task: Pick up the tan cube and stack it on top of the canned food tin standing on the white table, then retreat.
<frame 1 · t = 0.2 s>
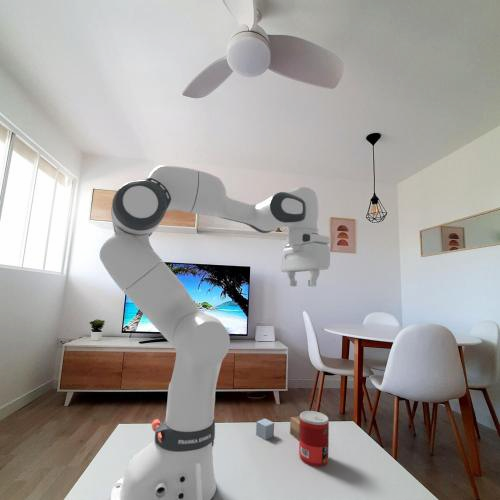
hand: (302, 286, 84), 47 cm above the table, tool pointing down, fingers open, 8 cm apart
tan cube: (300, 436, 91), on the table
slate block: (264, 435, 90), on the table
canned food: (313, 459, 78), on the table
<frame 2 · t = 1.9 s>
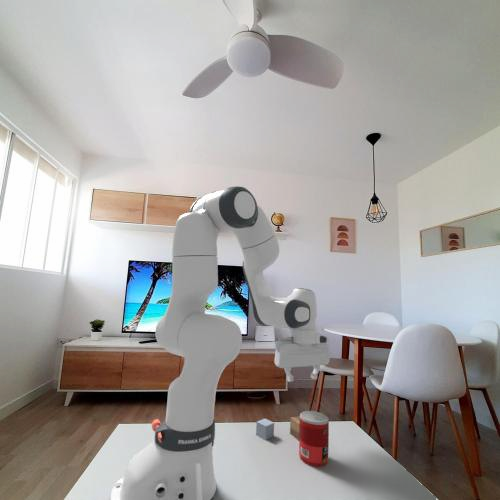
hand: (302, 380, 94), 17 cm above the table, tool pointing down, fingers open, 8 cm apart
nothing on the table moved.
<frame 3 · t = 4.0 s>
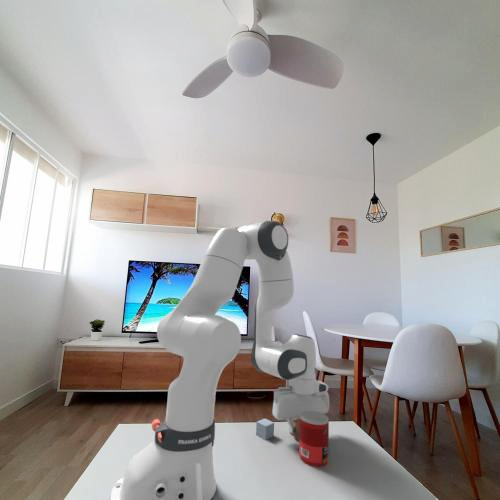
hand: (300, 430, 91), 2 cm above the table, tool pointing down, fingers closed on tan cube, 5 cm apart
tan cube: (300, 435, 91), on the table, touching gripper
everything else where it was.
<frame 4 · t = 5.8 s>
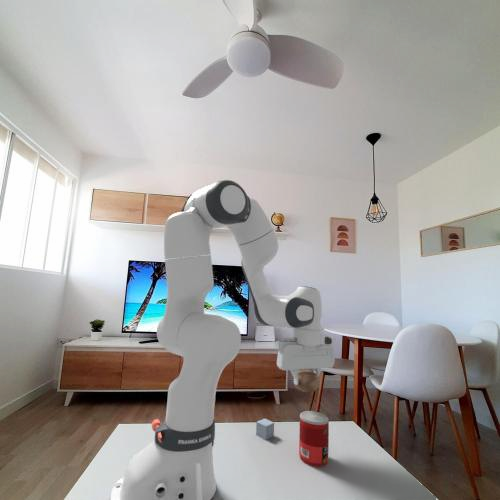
hand: (305, 383, 88), 18 cm above the table, tool pointing down, fingers closed on tan cube, 5 cm apart
tan cube: (305, 389, 88), point 16 cm above the table, touching gripper
everything else where it was.
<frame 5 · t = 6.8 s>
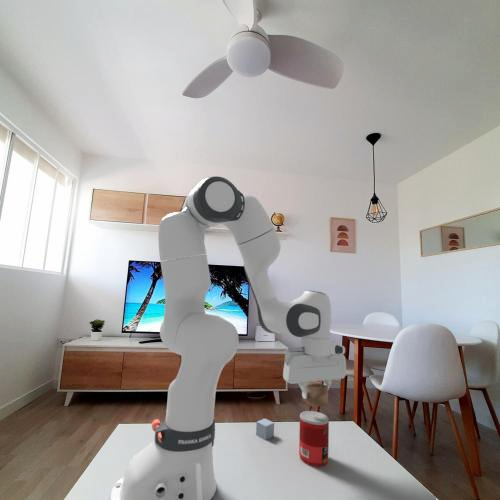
hand: (315, 396, 81), 16 cm above the table, tool pointing down, fingers closed on tan cube, 5 cm apart
tan cube: (315, 402, 81), point 14 cm above the table, touching gripper
everything else where it was.
when the fingers open (14 cm above the table, at t = 7.6 s): tan cube drops 2 cm, resting on canned food.
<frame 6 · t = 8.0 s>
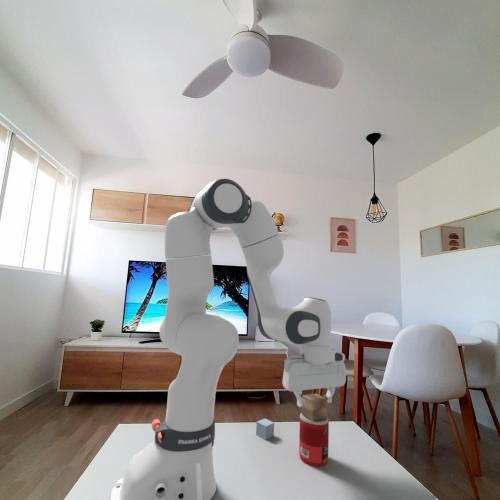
hand: (314, 404, 81), 14 cm above the table, tool pointing down, fingers open, 8 cm apart
tan cube: (314, 416, 80), point 11 cm above the table, touching canned food
canned food: (313, 459, 78), on the table, touching tan cube
everything else where it was.
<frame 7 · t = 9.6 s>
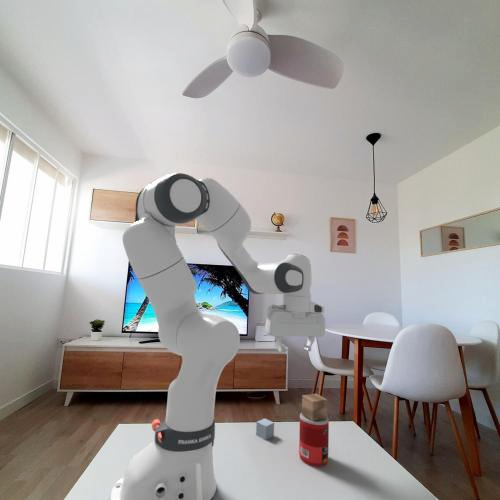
hand: (294, 351, 87), 27 cm above the table, tool pointing down, fingers open, 8 cm apart
nothing on the table moved.
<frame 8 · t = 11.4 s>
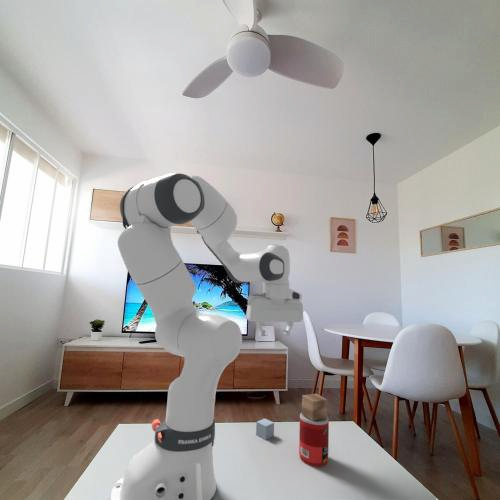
hand: (274, 335, 94), 31 cm above the table, tool pointing down, fingers open, 8 cm apart
nothing on the table moved.
at the end: tan cube 0.1 cm from the canned food (horizontally); tan cube point 10.9 cm above the table; canned food tilted 0° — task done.
